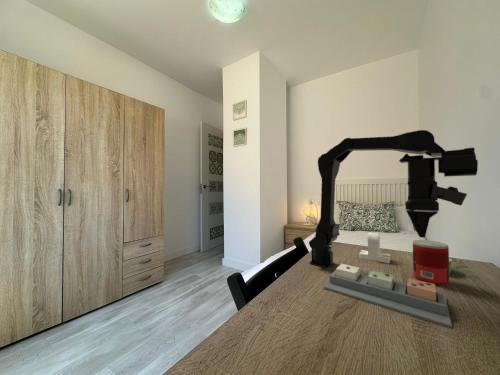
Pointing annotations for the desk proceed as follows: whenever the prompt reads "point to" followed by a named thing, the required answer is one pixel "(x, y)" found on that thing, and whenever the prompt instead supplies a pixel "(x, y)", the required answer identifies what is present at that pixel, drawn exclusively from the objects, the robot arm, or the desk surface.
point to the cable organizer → (374, 250)
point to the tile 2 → (381, 280)
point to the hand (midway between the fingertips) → (422, 234)
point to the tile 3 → (421, 289)
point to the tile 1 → (348, 272)
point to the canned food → (431, 262)
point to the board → (393, 298)
